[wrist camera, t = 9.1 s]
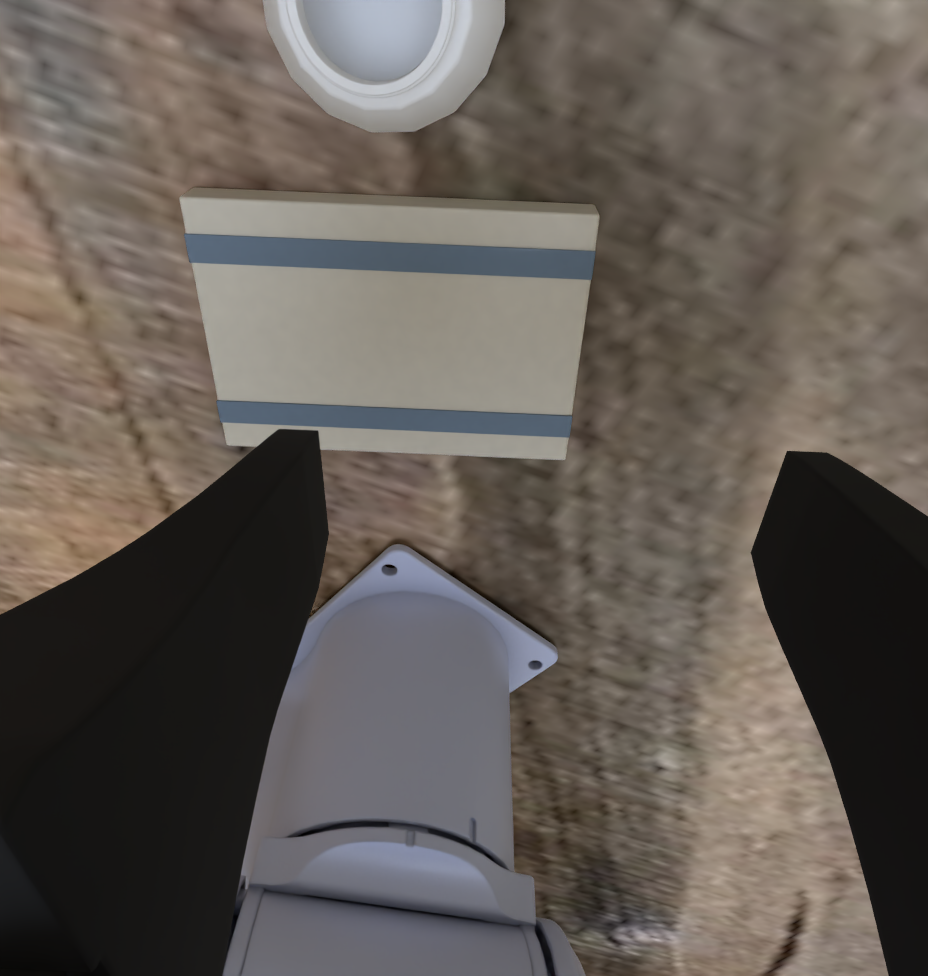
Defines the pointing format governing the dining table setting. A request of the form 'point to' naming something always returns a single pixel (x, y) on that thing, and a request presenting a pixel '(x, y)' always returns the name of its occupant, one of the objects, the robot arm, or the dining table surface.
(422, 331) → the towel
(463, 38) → the lidless jar
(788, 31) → the dining table surface
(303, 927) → the robot arm
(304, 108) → the dining table surface
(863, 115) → the dining table surface
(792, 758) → the dining table surface
